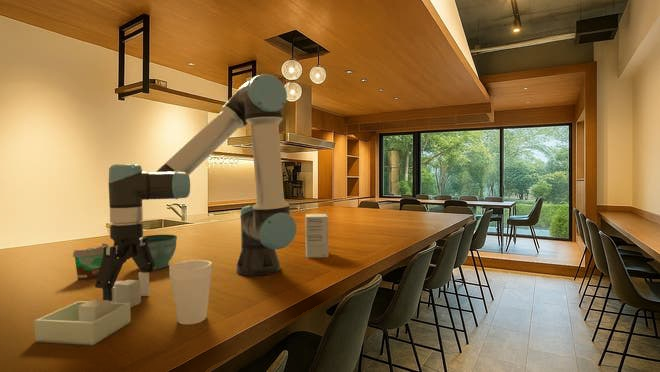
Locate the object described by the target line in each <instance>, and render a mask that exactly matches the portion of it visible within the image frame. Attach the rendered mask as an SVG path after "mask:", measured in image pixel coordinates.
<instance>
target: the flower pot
mask: <svg viewBox="0 0 660 372" xmlns="http://www.w3.org/2000/svg"><path fill="white" fill-rule="evenodd" d="M142 237H145V238H147V239H148V246H149V249H150V252H151V255H152V258H153V261H154V264H155V266H154V268H153V271H154V270H155V271H156V270H160V269H163V268H166V267H169V263H170V261H171V259H172V258H173V256H174V254H175V252H176V248H177V239H178V235H176V234H150V235H143V236H142Z"/></svg>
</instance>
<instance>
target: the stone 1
mask: <svg viewBox="0 0 660 372" xmlns="http://www.w3.org/2000/svg"><path fill="white" fill-rule="evenodd" d="M78 310H79V321H83V322H93V321H95V320H97V319H99V318H101V317H102V316H104V315H106V314H108V313H110V307H109V300H103V299H92V300H89V302H87V303H84V304H82V305H80V306H78Z"/></svg>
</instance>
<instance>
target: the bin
mask: <svg viewBox="0 0 660 372" xmlns="http://www.w3.org/2000/svg"><path fill="white" fill-rule="evenodd" d="M89 301H90V300H89ZM89 301H88V300H87V301H85V300H84V301H83V300H78V301H76V302H73V303H71V304H69V305H66V306H65V307H64V306H63V307H61V308H60V309H56V310H55V311H53V312H51V313H48V314H46V315H44V316H42V317H39V318H36V319H34V342H35V343H48V344H49V343H50V344H67V345H82V346H83V345H85V346H94V345H96V344H98V343H99V342H101V341H102V340H104V339H106V338H107V337H109V336H110V335H112V334H114V333H116V332H117V331H118V330H120V329H122V328H124V327H126V326H127V325H128V324H130V323H131V320H132V319H131V308H130V303H114V302H109V307H110V313H108V314H106V315H104V316H102V317H101V318H99V319H97V320H95V321H93V322H83V321H79V310H78V306H80V305H82V304H84V303H87V302H89Z"/></svg>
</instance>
